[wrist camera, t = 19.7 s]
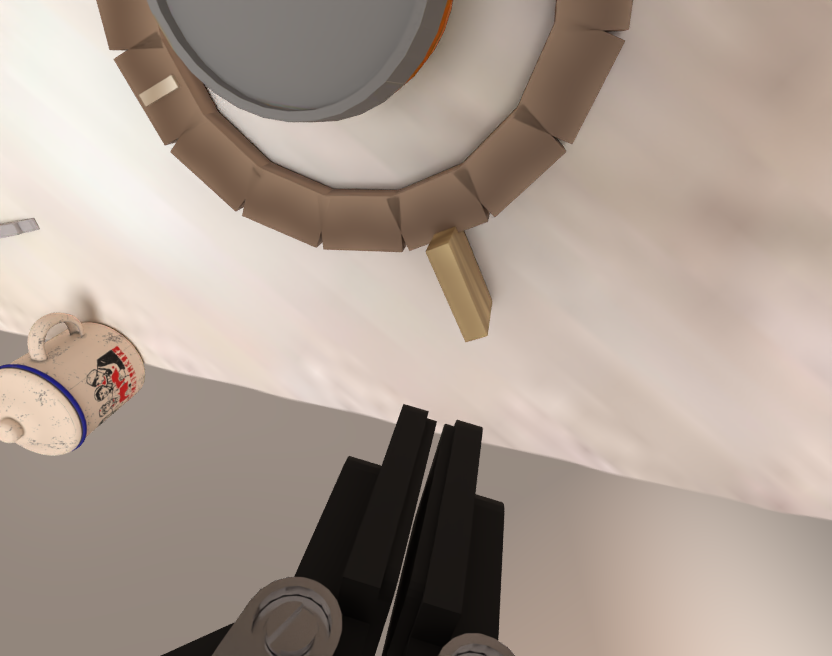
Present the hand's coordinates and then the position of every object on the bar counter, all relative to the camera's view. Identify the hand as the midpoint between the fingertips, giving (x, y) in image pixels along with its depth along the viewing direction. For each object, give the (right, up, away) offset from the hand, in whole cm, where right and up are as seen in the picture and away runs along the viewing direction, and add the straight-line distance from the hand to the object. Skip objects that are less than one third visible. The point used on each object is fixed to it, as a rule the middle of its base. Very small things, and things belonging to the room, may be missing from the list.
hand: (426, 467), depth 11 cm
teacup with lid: (-31, +1, +40) cm, 50 cm away
